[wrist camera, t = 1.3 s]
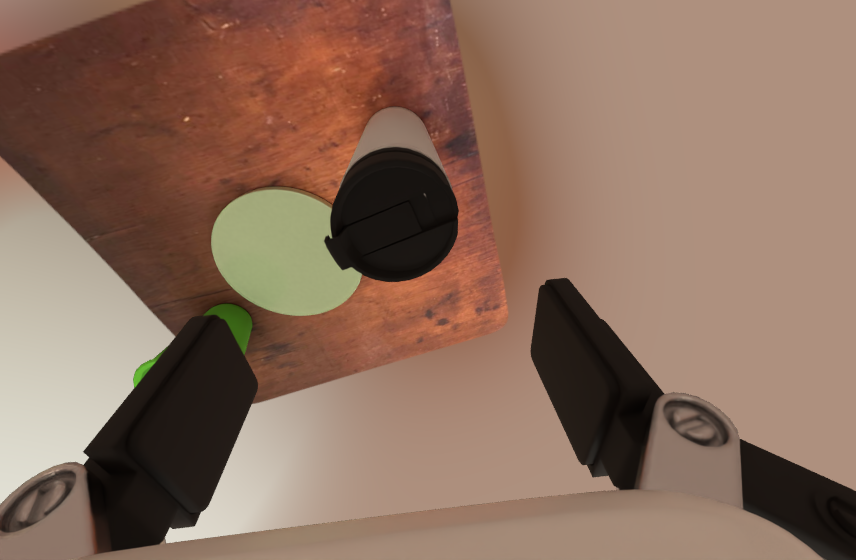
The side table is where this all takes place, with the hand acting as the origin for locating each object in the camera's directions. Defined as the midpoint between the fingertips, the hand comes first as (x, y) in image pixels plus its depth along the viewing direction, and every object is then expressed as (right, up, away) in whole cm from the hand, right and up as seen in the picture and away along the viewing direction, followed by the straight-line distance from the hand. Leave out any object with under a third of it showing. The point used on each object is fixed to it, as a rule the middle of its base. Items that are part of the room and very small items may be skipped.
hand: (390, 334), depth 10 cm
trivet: (-14, +4, +27) cm, 31 cm away
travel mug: (-2, +15, +22) cm, 27 cm away
